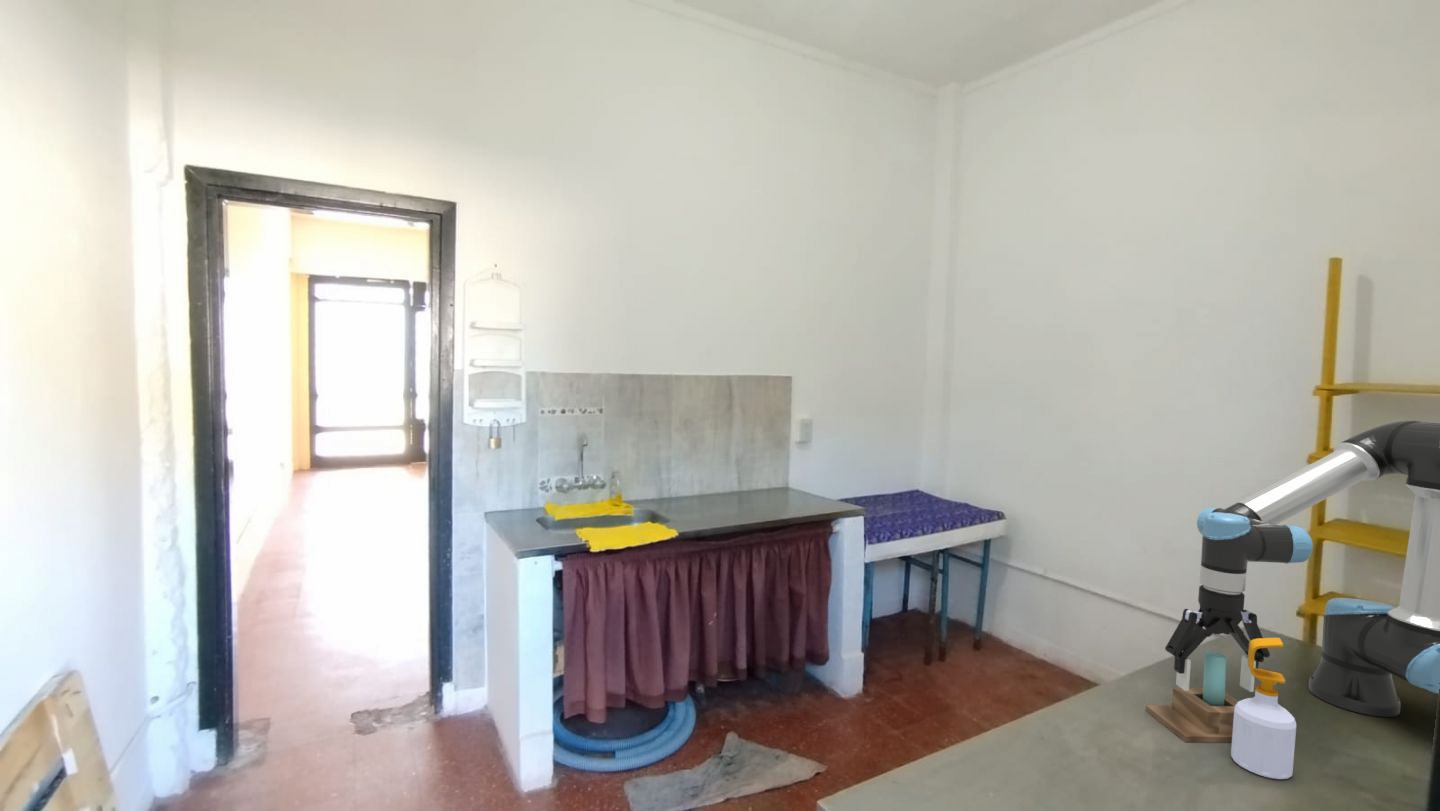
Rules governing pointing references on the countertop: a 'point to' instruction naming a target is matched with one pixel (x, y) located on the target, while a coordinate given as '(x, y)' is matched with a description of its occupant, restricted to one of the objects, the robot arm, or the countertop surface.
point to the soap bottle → (1264, 724)
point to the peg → (1214, 678)
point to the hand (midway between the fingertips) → (1214, 688)
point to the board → (1184, 726)
